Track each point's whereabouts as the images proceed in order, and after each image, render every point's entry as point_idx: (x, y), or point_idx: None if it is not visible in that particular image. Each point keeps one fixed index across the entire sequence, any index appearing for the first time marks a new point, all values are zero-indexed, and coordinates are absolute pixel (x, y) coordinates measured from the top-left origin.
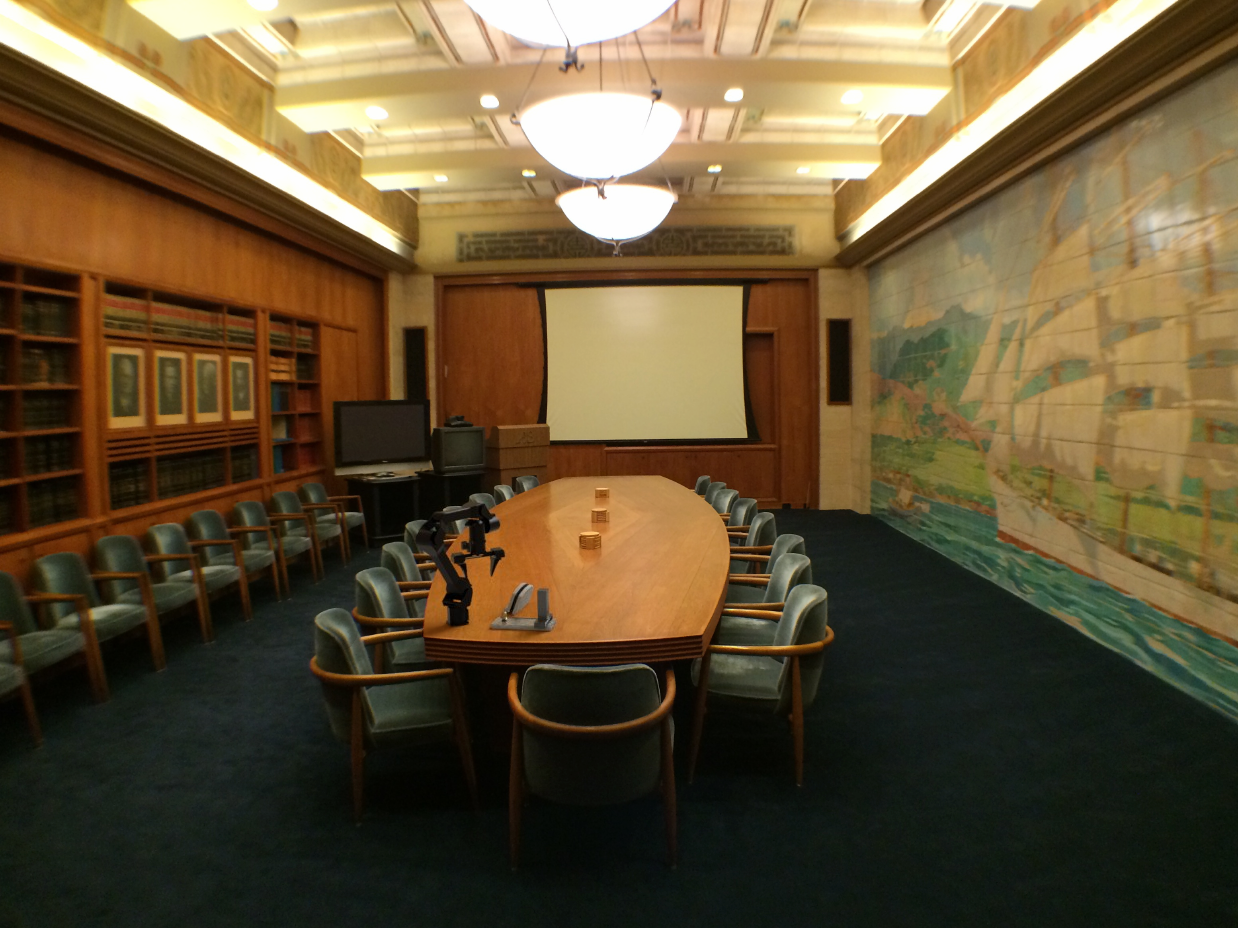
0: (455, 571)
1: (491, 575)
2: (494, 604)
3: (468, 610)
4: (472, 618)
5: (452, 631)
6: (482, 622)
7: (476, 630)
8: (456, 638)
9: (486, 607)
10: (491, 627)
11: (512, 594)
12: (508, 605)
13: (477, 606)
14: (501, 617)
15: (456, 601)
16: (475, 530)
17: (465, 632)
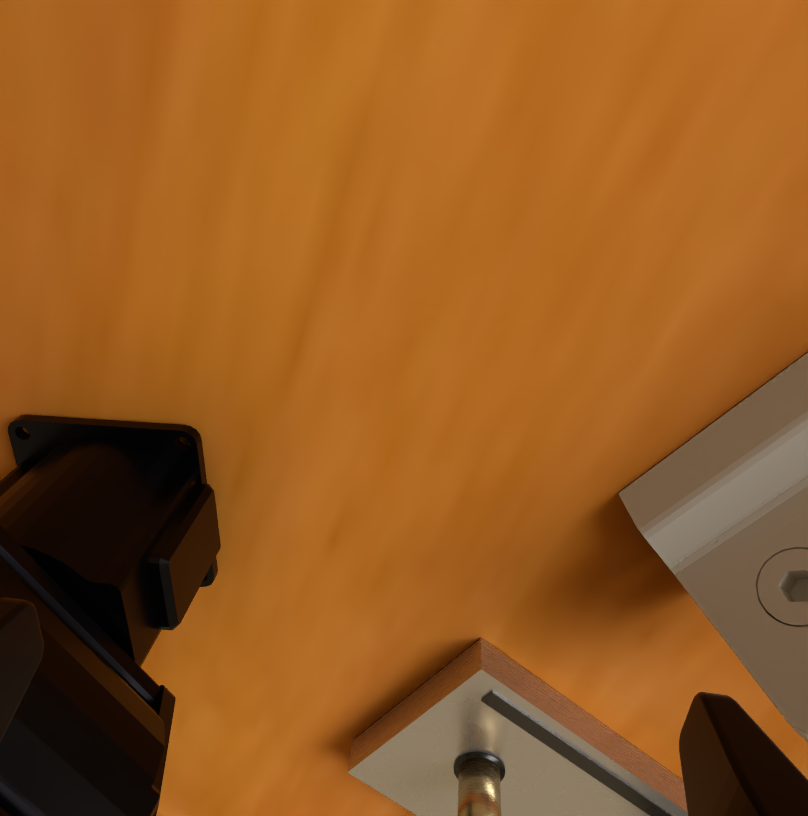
0: None
1: (687, 787)
2: (746, 92)
3: (181, 619)
4: (286, 456)
5: None
6: (338, 599)
7: (238, 715)
8: None
9: (580, 168)
10: (355, 749)
11: (798, 730)
12: (694, 598)
13: (494, 39)
14: (492, 707)
15: (4, 559)
16: None
17: None
